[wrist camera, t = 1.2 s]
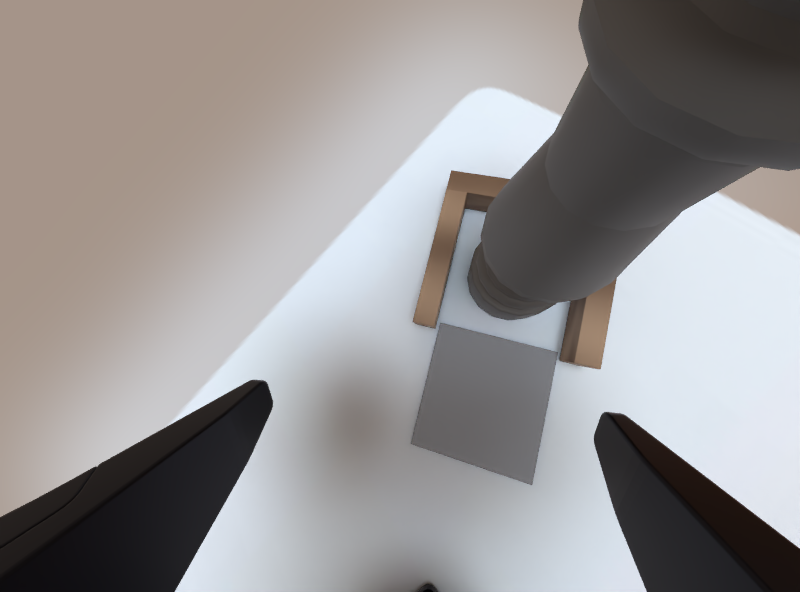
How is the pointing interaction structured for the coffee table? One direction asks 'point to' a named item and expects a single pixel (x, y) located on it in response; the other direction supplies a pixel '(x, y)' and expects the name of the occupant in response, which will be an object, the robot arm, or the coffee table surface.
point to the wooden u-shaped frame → (462, 192)
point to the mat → (486, 401)
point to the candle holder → (641, 143)
